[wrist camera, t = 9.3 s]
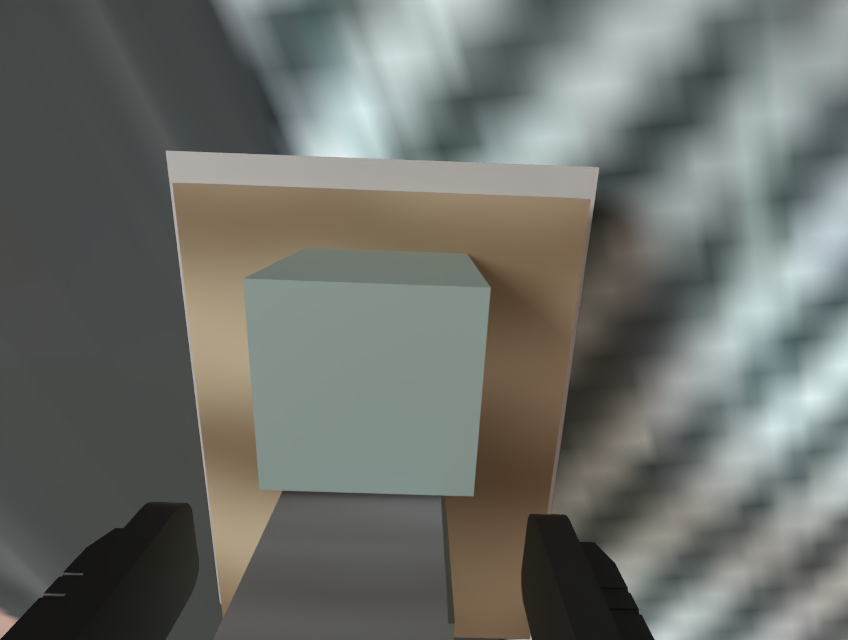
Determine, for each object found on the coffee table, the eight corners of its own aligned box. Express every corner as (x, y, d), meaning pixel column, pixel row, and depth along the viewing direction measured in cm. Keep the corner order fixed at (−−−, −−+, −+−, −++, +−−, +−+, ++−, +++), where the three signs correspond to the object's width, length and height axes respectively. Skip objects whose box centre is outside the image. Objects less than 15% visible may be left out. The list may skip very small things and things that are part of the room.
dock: (563, 173, 16) (606, 167, 12) (519, 537, 21) (541, 615, 17) (227, 159, 16) (165, 151, 12) (258, 529, 21) (220, 607, 17)
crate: (305, 247, 11) (243, 278, 7) (466, 253, 11) (491, 287, 7) (311, 394, 12) (259, 489, 8) (457, 399, 12) (473, 496, 8)
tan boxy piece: (210, 183, 12) (-500, 164, 3) (565, 197, 13) (1021, 222, 3) (247, 579, 16) (1, 1128, 7) (517, 586, 17) (647, 1136, 7)
